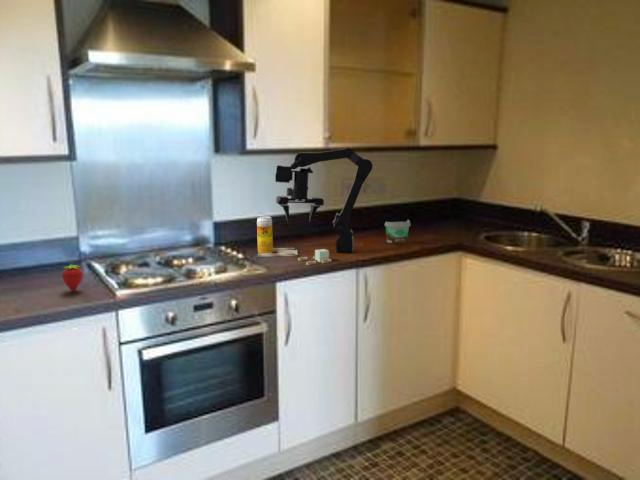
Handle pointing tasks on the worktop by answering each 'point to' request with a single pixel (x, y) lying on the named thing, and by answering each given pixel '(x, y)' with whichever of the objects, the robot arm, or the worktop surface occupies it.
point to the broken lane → (313, 261)
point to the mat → (289, 251)
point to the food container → (397, 232)
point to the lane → (278, 253)
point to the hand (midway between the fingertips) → (299, 221)
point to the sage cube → (321, 255)
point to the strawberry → (72, 276)
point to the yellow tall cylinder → (264, 235)
